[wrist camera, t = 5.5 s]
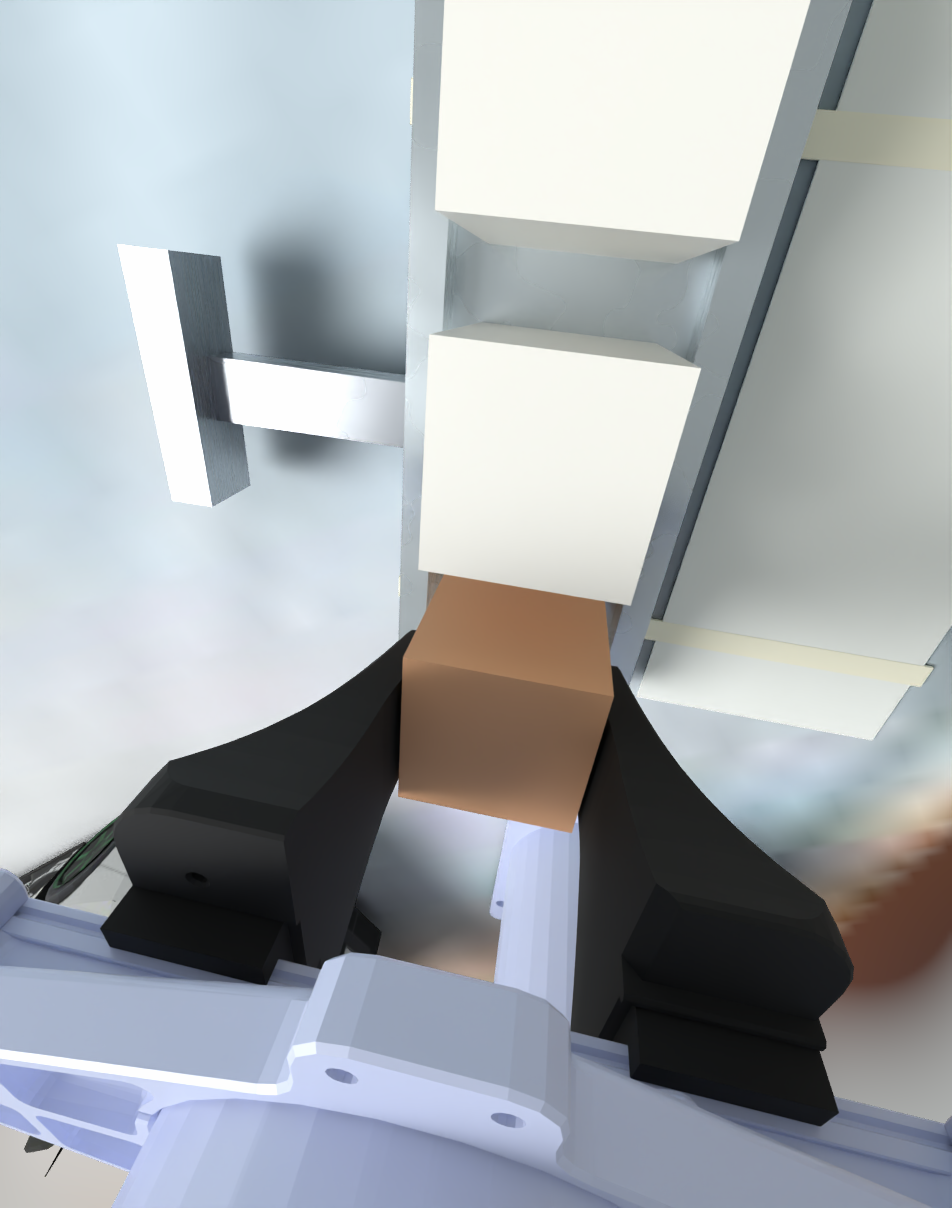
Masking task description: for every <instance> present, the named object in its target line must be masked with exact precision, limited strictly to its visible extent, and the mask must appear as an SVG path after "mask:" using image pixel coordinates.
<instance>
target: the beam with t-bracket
mask: <svg viewBox="0 0 952 1208" xmlns="http://www.w3.org/2000/svg"><path fill="white" fill-rule="evenodd" d="M851 3H852V0H811V1H810V4H809V8H808V11H807V14H806V18H805V21H804V25H803V28H802V31H801V35H800V38H799V41H798V45H797V48H796V51H795V55H794V58H793V62H792V65H791V68H790V72H789V75H788V78H787V82H786V85H785V88H784V92H783V95H782V99H781V102H780V105H779V109H778V112H777V115H776V119H775V122H774V125H773V129H772V132H771V136H770V139H769V142H768V146H767V149H766V152H765V156H764V159H763V162H762V166H761V169H760V173H759V176H758V179H757V183H756V186H755V189H754V193H753V196H752V199H751V203H750V206H749V210H748V213H747V216H746V220H745V223H744V226H743V230H742V233H741V236H740V240H739V241H738V242H735V243H733V244H730V245H727V246H724V247H722V248H719V249H716V250H713V251H711V252H708V253H705V254H702V255H700V256H697V257H694V258H691V259H689V260H686V261H683V262H680V263H678V264H672V263H662V262H653V261H644V260H634V259H625V258H616V257H606V256H597V255H588V254H578V253H569V252H560V251H550V250H541V249H532V248H522V247H513V246H504V245H494V244H488V243H487V242H485V241H483V240H482V239H480V238H479V237H477V236H475V235H474V234H472V233H471V232H469V231H467V230H466V229H464V228H463V227H461V226H459V225H458V224H456V223H455V222H453V221H451V220H450V219H448V218H447V217H445V216H443V215H442V214H440V213H439V212H437V211H435V195H436V173H437V152H438V130H439V108H440V86H441V64H442V43H443V21H444V0H415V29H414V67H413V106H412V145H411V183H410V222H409V261H408V299H407V338H406V375H402V374H395V373H387V372H380V371H372V370H365V369H357V368H350V367H342V366H335V365H327V364H320V363H312V362H304V361H297V360H289V359H282V358H274V357H267V356H259V355H252V354H244V353H237V352H233V350H232V342H231V334H230V327H229V319H228V312H227V304H226V296H225V289H224V281H223V273H222V266H221V258H220V257H219V256H211V255H203V254H195V253H186V252H178V251H170V250H161V249H152V248H144V247H135V246H126V245H118V249H119V253H120V258H121V263H122V267H123V272H124V277H125V281H126V286H127V291H128V295H129V300H130V305H131V309H132V314H133V319H134V323H135V328H136V333H137V337H138V342H139V347H140V351H141V356H142V361H143V365H144V370H145V375H146V379H147V384H148V389H149V393H150V398H151V403H152V407H153V412H154V417H155V421H156V426H157V431H158V435H159V440H160V445H161V449H162V454H163V459H164V463H165V468H166V473H167V477H168V482H169V487H170V491H171V496H172V500H173V501H179V502H185V503H191V504H197V505H203V506H209V507H213V506H215V505H216V504H218V503H220V502H222V501H223V500H225V499H227V498H229V497H230V496H232V495H234V494H236V493H238V492H239V491H241V490H243V489H245V488H246V487H248V486H250V479H249V472H248V464H247V457H246V449H245V441H244V434H243V426H242V424H244V425H251V426H258V427H264V428H271V429H278V430H285V431H292V432H298V433H305V434H312V435H319V436H326V437H333V438H339V439H346V440H353V441H360V442H367V443H373V444H380V445H387V446H394V447H401V448H404V454H403V493H402V532H401V570H400V609H399V640H400V639H401V638H402V637H403V636H404V635H405V634H407V633H408V632H409V631H411V630H417V628H418V626H419V624H420V622H421V620H422V618H423V616H424V614H425V612H426V610H427V608H428V605H429V603H430V601H431V599H432V597H433V595H434V593H435V591H436V589H437V587H438V585H439V583H440V581H441V579H442V577H443V575H444V574H440V573H434V572H428V571H422V570H418V566H419V544H420V522H421V500H422V478H423V457H424V435H425V413H426V391H427V369H428V348H429V334H433V333H437V332H441V331H445V330H450V329H454V328H458V327H463V326H467V325H471V324H476V323H480V322H485V323H493V324H502V325H510V326H518V327H526V328H535V329H543V330H551V331H559V332H567V333H576V334H584V335H592V336H600V337H609V338H617V339H625V340H633V341H642V342H650V343H657V344H659V345H660V346H662V347H664V348H666V349H668V350H669V351H671V352H673V353H675V354H677V355H678V356H680V357H682V358H684V359H686V360H687V361H689V362H691V363H693V364H694V365H696V366H698V367H700V368H701V371H700V374H699V378H698V381H697V384H696V388H695V391H694V395H693V398H692V401H691V405H690V408H689V411H688V415H687V418H686V421H685V425H684V428H683V432H682V435H681V438H680V442H679V445H678V448H677V452H676V455H675V458H674V462H673V465H672V469H671V472H670V475H669V479H668V482H667V485H666V489H665V492H664V495H663V499H662V502H661V505H660V509H659V512H658V516H657V519H656V522H655V526H654V529H653V532H652V536H651V539H650V542H649V546H648V549H647V553H646V556H645V559H644V563H643V566H642V569H641V573H640V576H639V579H638V583H637V586H636V590H635V593H634V596H633V600H632V603H631V606H629V605H623V604H617V603H612V602H606V601H605V606H606V617H607V628H608V638H609V649H610V660H611V666H617V667H618V668H619V669H620V670H621V672H622V674H623V676H624V678H625V680H626V682H627V684H628V686H629V684H630V681H631V678H632V675H633V672H634V669H635V666H636V663H637V660H638V657H639V654H640V651H641V648H642V644H643V641H644V638H645V635H646V632H647V629H648V626H649V623H650V620H651V617H652V614H653V611H654V608H655V605H656V602H657V598H658V595H659V592H660V589H661V586H662V583H663V580H664V577H665V574H666V571H667V568H668V565H669V562H670V559H671V556H672V552H673V549H674V546H675V543H676V540H677V537H678V534H679V531H680V528H681V525H682V522H683V519H684V516H685V513H686V510H687V506H688V503H689V500H690V497H691V494H692V491H693V488H694V485H695V482H696V479H697V476H698V473H699V470H700V467H701V464H702V460H703V457H704V454H705V451H706V448H707V445H708V442H709V439H710V436H711V433H712V430H713V427H714V424H715V421H716V417H717V414H718V411H719V408H720V405H721V402H722V399H723V396H724V393H725V390H726V387H727V384H728V381H729V378H730V375H731V371H732V368H733V365H734V362H735V359H736V356H737V353H738V350H739V347H740V344H741V341H742V338H743V335H744V332H745V329H746V325H747V322H748V319H749V316H750V313H751V310H752V307H753V304H754V301H755V298H756V295H757V292H758V289H759V286H760V283H761V279H762V276H763V273H764V270H765V267H766V264H767V261H768V258H769V255H770V252H771V249H772V246H773V243H774V240H775V237H776V233H777V230H778V227H779V224H780V221H781V218H782V215H783V212H784V209H785V206H786V203H787V200H788V197H789V194H790V191H791V187H792V184H793V181H794V178H795V175H796V172H797V169H798V166H799V163H800V160H801V157H802V154H803V151H804V148H805V145H806V141H807V138H808V135H809V132H810V129H811V126H812V123H813V120H814V117H815V114H816V111H817V108H818V105H819V102H820V98H821V95H822V92H823V89H824V86H825V83H826V80H827V77H828V74H829V71H830V68H831V65H832V62H833V59H834V56H835V52H836V49H837V46H838V43H839V40H840V37H841V34H842V31H843V28H844V25H845V22H846V19H847V16H848V13H849V10H850V6H851Z"/></svg>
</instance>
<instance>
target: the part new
mask: <svg viewBox="0 0 952 1208" xmlns="http://www.w3.org/2000/svg"><path fill="white" fill-rule="evenodd" d="M613 698H614V692H613V681H612V671H611V660H610V649H609V638H608V628H607V617H606V606H605V601H600V600H594V599H588V598H582V597H576V596H570V595H564V594H558V593H552V592H546V591H541V590H535V589H529V588H523V587H517V586H511V585H505V584H499V583H493V582H487V581H481V580H475V579H470V578H464V577H458V576H452V575H446V574H444V575H443V577H442V579H441V581H440V583H439V585H438V587H437V589H436V591H435V593H434V595H433V597H432V599H431V601H430V603H429V605H428V608H427V610H426V612H425V614H424V616H423V618H422V620H421V622H420V624H419V626H418V628H417V630H416V632H415V634H414V636H413V638H412V640H411V642H410V644H409V646H408V648H407V650H406V652H405V654H404V656H403V669H402V698H401V728H400V758H399V787H398V797H402V798H407V799H412V800H417V801H421V802H426V803H431V804H436V805H440V806H445V807H450V808H455V809H459V810H464V811H469V812H473V813H478V814H483V815H488V816H492V817H497V818H502V819H507V820H511V821H516V822H521V823H526V824H530V825H535V826H540V827H544V828H549V829H554V830H559V831H563V832H568V833H572V831H573V827H574V824H575V821H576V818H577V815H578V811H579V808H580V805H581V802H582V798H583V795H584V792H585V789H586V785H587V782H588V779H589V776H590V773H591V769H592V766H593V763H594V760H595V756H596V753H597V750H598V747H599V743H600V740H601V737H602V734H603V730H604V727H605V724H606V721H607V718H608V714H609V711H610V708H611V705H612V701H613Z"/></svg>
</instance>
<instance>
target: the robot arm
mask: <svg viewBox="0 0 952 1208" xmlns="http://www.w3.org/2000/svg"><path fill="white" fill-rule="evenodd" d="M415 632H416V630H411V631H409V632H408V633H407V634H405V635H404V636H403V637H402V638H401V639H400V640H399V641H398V642H396V643H395V644H394V645H393V646H392V647H391V648H390V649H388V650H387V651H386V652H385V653H384V654H383V655H381V656H380V657H379V658H378V659H376V660H375V661H374V662H373V663H371V664H370V665H369V666H368V667H366V668H365V669H364V670H363V671H361V672H360V673H359V674H357V675H356V676H355V677H353V678H352V679H350V680H349V681H348V682H346V683H345V684H343V685H342V686H341V687H339V688H338V689H336V690H335V691H333V692H332V693H330V694H329V695H327V696H326V697H324V698H322V699H321V700H319V701H317V702H316V703H314V704H312V705H311V706H309V707H307V708H305V709H303V710H302V711H300V712H298V713H296V714H294V715H291V716H289V717H287V718H285V719H283V720H281V721H279V722H277V723H275V724H273V725H271V726H269V727H266V728H264V729H262V730H259V731H257V732H254V733H252V734H250V735H247V736H245V737H242V738H239V739H237V740H234V741H231V742H229V743H226V744H223V745H220V746H217V747H214V748H211V749H208V750H204V751H201V752H198V753H195V754H191V755H188V756H185V757H182V758H178V759H175V760H171V761H169V762H168V763H167V764H166V765H165V766H164V767H163V768H162V769H161V770H160V771H159V772H158V773H157V774H156V775H155V776H154V777H153V778H152V779H151V780H150V781H149V783H148V784H147V785H146V786H145V787H144V788H143V790H142V791H141V792H140V793H139V794H138V795H137V796H136V798H135V799H134V800H133V801H132V802H131V803H130V804H129V806H128V807H127V808H126V809H125V810H124V811H123V812H122V814H121V815H120V816H119V817H118V818H117V819H116V820H115V823H114V827H113V837H114V841H115V845H116V848H117V851H118V853H119V855H120V858H121V860H122V862H123V864H124V867H125V869H126V871H127V874H128V876H129V878H130V881H131V883H132V887H131V888H130V889H129V891H128V892H127V893H126V895H125V896H124V897H123V898H122V900H121V901H120V902H119V904H118V905H117V906H116V908H115V909H114V910H113V912H112V913H111V914H110V916H109V917H107V916H102V915H98V914H94V913H90V912H86V911H82V910H78V909H74V908H70V907H66V906H62V905H58V904H54V903H50V902H46V901H42V900H38V899H34V898H30V897H28V893H27V890H26V888H25V886H24V884H23V883H22V881H21V880H20V879H19V878H18V877H17V876H16V875H14V874H13V873H11V872H9V871H8V870H5V869H2V868H0V1125H3V1126H6V1127H8V1128H11V1129H14V1130H16V1131H19V1132H22V1133H25V1134H27V1135H30V1136H33V1137H35V1138H38V1139H41V1140H43V1141H46V1142H49V1143H52V1144H54V1145H57V1146H60V1147H62V1148H65V1149H68V1150H70V1151H73V1152H76V1153H78V1154H81V1155H84V1156H87V1157H89V1158H92V1159H95V1160H97V1161H100V1162H103V1163H105V1164H108V1165H111V1166H113V1167H116V1168H119V1169H122V1170H124V1171H127V1172H129V1174H128V1176H127V1178H126V1180H125V1182H124V1184H123V1185H122V1187H121V1190H120V1191H119V1193H118V1195H117V1197H116V1199H115V1201H114V1203H113V1205H112V1207H111V1208H952V1116H951V1117H950V1118H949V1119H948V1120H947V1121H946V1123H945V1124H944V1123H940V1122H936V1121H932V1120H928V1119H924V1118H920V1117H916V1116H912V1115H908V1114H904V1113H900V1112H896V1111H892V1110H888V1109H884V1108H880V1107H876V1106H871V1105H867V1104H863V1103H859V1102H855V1101H851V1100H847V1099H843V1098H839V1097H835V1096H834V1095H833V1092H832V1089H831V1086H830V1082H829V1080H828V1076H827V1073H826V1070H825V1067H824V1064H823V1061H822V1058H821V1054H820V1051H824V1050H825V1049H826V1039H825V1036H824V1033H823V1030H822V1027H821V1024H820V1021H819V1017H820V1016H821V1015H822V1014H823V1013H824V1012H825V1011H826V1010H827V1009H828V1008H829V1007H830V1006H831V1005H832V1004H833V1003H834V1002H835V1001H836V1000H837V999H838V998H839V997H840V996H841V995H842V994H843V993H844V992H845V990H846V989H847V987H848V986H849V984H850V983H851V981H852V980H853V970H854V966H853V964H852V962H851V959H850V957H849V954H848V952H847V949H846V947H845V944H844V942H843V939H842V937H841V934H840V932H839V930H838V927H837V925H836V923H835V921H834V919H833V917H832V915H831V913H830V911H829V909H828V907H827V905H826V903H825V901H824V900H823V899H822V898H820V897H819V896H818V895H817V894H815V893H814V892H813V891H811V890H810V889H809V888H808V887H806V886H805V885H804V884H802V883H801V882H800V881H799V880H797V879H796V878H795V877H793V876H792V875H791V874H790V873H788V872H787V871H786V870H785V869H783V868H782V867H781V866H779V865H778V864H777V863H776V862H775V861H773V860H772V859H771V858H770V857H769V856H768V855H766V854H765V853H764V852H763V851H762V850H761V849H760V848H758V847H757V846H756V845H755V844H754V843H753V842H752V841H750V840H749V839H748V838H747V837H746V836H745V835H744V834H743V833H742V832H741V831H740V830H739V829H737V828H736V827H735V826H734V825H733V824H732V823H731V822H730V821H729V820H728V819H727V818H726V817H725V816H724V815H723V814H722V813H721V812H720V811H719V810H718V809H717V808H716V807H715V806H714V805H713V804H712V803H711V801H710V800H709V799H708V798H707V797H706V796H705V795H704V794H703V793H702V792H701V791H700V789H699V788H698V787H697V786H696V785H695V784H694V782H693V781H692V780H691V779H690V778H689V776H688V775H687V774H686V773H685V772H684V771H683V769H682V768H681V767H680V766H679V764H678V763H677V762H676V760H675V759H674V758H673V756H672V755H671V753H670V752H669V751H668V749H667V748H666V746H665V745H664V744H663V742H662V741H661V739H660V738H659V736H658V735H657V733H656V732H655V730H654V728H653V727H652V725H651V724H650V722H649V720H648V719H647V717H646V716H645V714H644V712H643V711H642V709H641V707H640V705H639V704H638V702H637V700H636V698H635V697H634V695H633V693H632V691H631V689H630V687H629V686H628V684H627V682H626V680H625V678H624V676H623V674H622V672H621V670H620V669H619V668H618V667H617V666H611V671H612V681H613V692H614V698H613V701H612V705H611V708H610V711H609V714H608V718H607V721H606V724H605V727H604V730H603V734H602V737H601V740H600V743H599V747H598V750H597V753H596V756H595V760H594V763H593V766H592V769H591V773H590V776H589V779H588V782H587V785H586V789H585V792H584V795H583V798H582V802H581V805H580V808H579V811H578V815H577V818H576V821H575V824H574V827H573V831H572V833H568V832H563V831H559V830H554V829H549V828H544V827H540V826H535V825H530V824H526V823H521V822H516V821H511V820H508V821H507V826H506V831H505V836H504V841H503V846H502V851H501V855H500V860H499V865H498V870H497V875H496V880H495V885H494V890H493V895H492V899H491V904H490V911H489V912H490V914H491V916H492V917H494V918H496V919H500V920H501V928H500V936H499V944H498V953H497V961H496V969H495V977H494V983H492V982H488V981H484V980H479V979H475V978H471V977H467V976H463V975H459V974H455V973H450V972H446V971H442V970H438V969H434V968H430V967H426V966H422V965H417V964H413V963H409V962H405V961H401V960H397V959H393V958H388V957H384V956H380V955H372V954H363V953H353V952H351V953H347V954H344V955H341V956H340V953H341V949H342V946H343V942H344V938H345V935H346V932H347V928H348V925H349V922H350V918H351V915H352V912H353V908H354V905H355V902H356V898H357V895H358V892H359V888H360V885H361V882H362V879H363V876H364V872H365V869H366V866H367V863H368V860H369V856H370V853H371V850H372V847H373V844H374V841H375V838H376V835H377V832H378V829H379V826H380V823H381V820H382V817H383V814H384V811H385V809H386V806H387V804H388V801H389V799H390V796H391V794H392V792H393V790H394V787H395V785H396V783H397V781H398V778H399V758H400V728H401V698H402V669H403V656H404V654H405V652H406V650H407V648H408V646H409V644H410V642H411V640H412V638H413V636H414V634H415Z"/></svg>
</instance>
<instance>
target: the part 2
mask: <svg viewBox="0 0 952 1208" xmlns="http://www.w3.org/2000/svg"><path fill="white" fill-rule="evenodd" d="M700 371H701V368H700V367H698V366H696V365H694V364H693V363H691V362H689V361H687V360H686V359H684V358H682V357H680V356H678V355H677V354H675V353H673V352H671V351H669V350H668V349H666V348H664V347H662V346H660V345H659V344H657V343H650V342H642V341H633V340H625V339H617V338H609V337H600V336H592V335H584V334H576V333H567V332H559V331H551V330H543V329H535V328H526V327H518V326H510V325H502V324H493V323H485V322H480V323H476V324H471V325H467V326H463V327H458V328H454V329H450V330H445V331H441V332H437V333H433V334H429V348H428V369H427V391H426V413H425V435H424V457H423V478H422V500H421V522H420V544H419V566H418V570H422V571H428V572H434V573H440V574H446V575H452V576H458V577H464V578H470V579H475V580H481V581H487V582H493V583H499V584H505V585H511V586H517V587H523V588H529V589H535V590H541V591H546V592H552V593H558V594H564V595H570V596H576V597H582V598H588V599H594V600H600V601H606V602H612V603H617V604H623V605H629V606H631V603H632V600H633V596H634V593H635V590H636V586H637V583H638V579H639V576H640V573H641V569H642V566H643V563H644V559H645V556H646V553H647V549H648V546H649V542H650V539H651V536H652V532H653V529H654V526H655V522H656V519H657V516H658V512H659V509H660V505H661V502H662V499H663V495H664V492H665V489H666V485H667V482H668V479H669V475H670V472H671V469H672V465H673V462H674V458H675V455H676V452H677V448H678V445H679V442H680V438H681V435H682V432H683V428H684V425H685V421H686V418H687V415H688V411H689V408H690V405H691V401H692V398H693V395H694V391H695V388H696V384H697V381H698V378H699V374H700Z"/></svg>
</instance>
